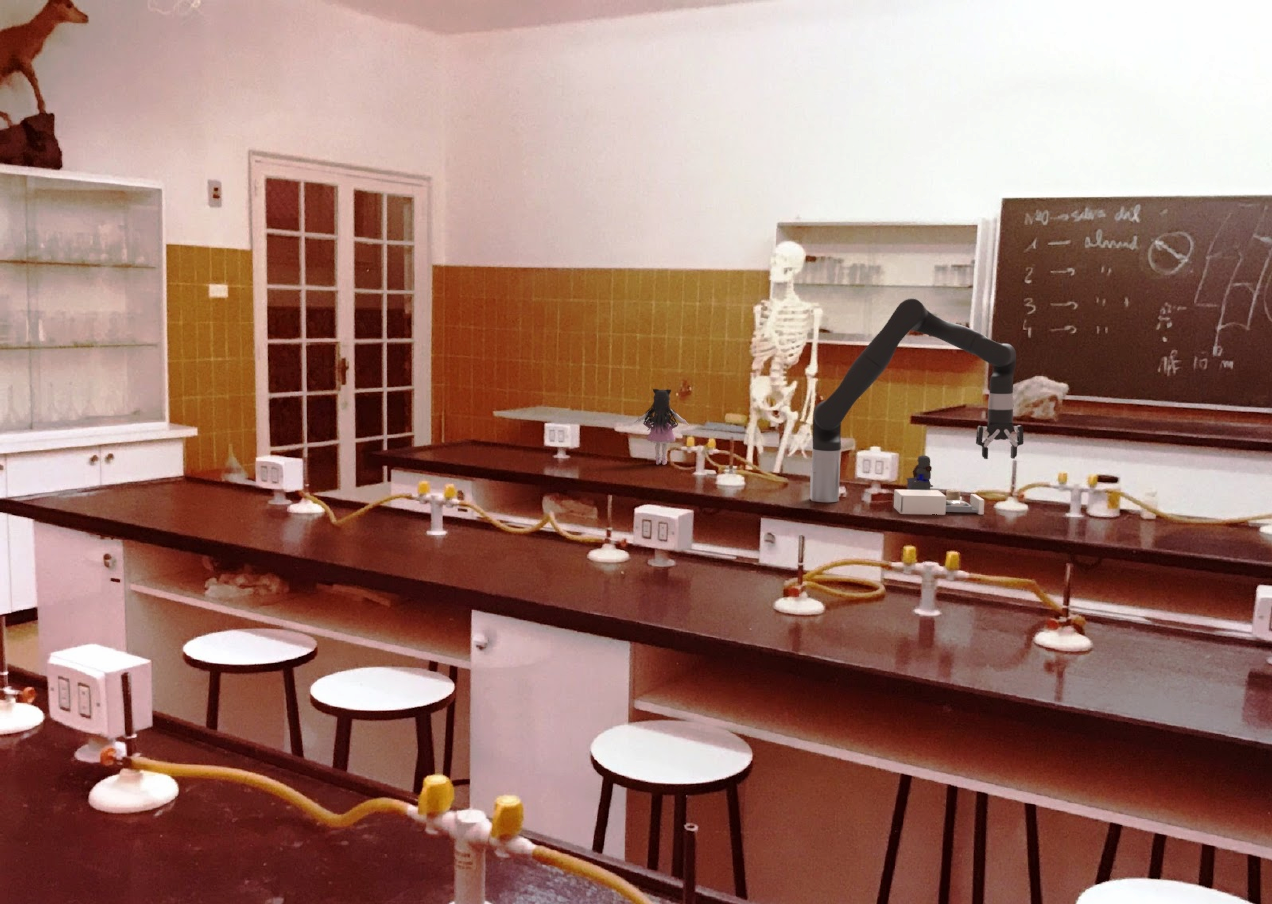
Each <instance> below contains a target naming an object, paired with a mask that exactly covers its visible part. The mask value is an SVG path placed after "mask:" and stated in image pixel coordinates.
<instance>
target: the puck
mask: <svg viewBox="0 0 1272 904" xmlns="http://www.w3.org/2000/svg"><path fill="white" fill-rule="evenodd" d="M964 501H965V500H960V501H959V500H946V506H965V504H966V502H967V501H965V502H964Z"/></svg>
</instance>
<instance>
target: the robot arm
mask: <svg viewBox="0 0 1272 904" xmlns="http://www.w3.org/2000/svg"><path fill="white" fill-rule="evenodd" d="M910 331H911V332H917V333H919V334H920V333H921V334H925V335H928V336H931V337H933V338H937V339H938V340H940V341H943V342H945V343H947V344H950V345H951V346H954V347H956V348H958V349H960V350H962V351H964V352H967V353H968V354H971V355H973V356H976V357H978V358H979V359H981V360H983V361H984V362H986V363H988V364H990V365H991V366H993V367H992V368H993V369H992V375H991V376H990V378H989V379H990V380H989V392H988V393H989V395H988V403H987V405H988V406H987V425H986V426H981V425H978V426H977V427H976V439H975V444H976V445H978V446H980V447H981V457H982V458H983V459H984V460H988V459H989V447H988V446H989V445H990V444H991V443H992V442H993V441H994V440H995V441H999V440H1004V441H1005V440H1007V441H1008V442H1009V443H1010V445H1011V446H1010V458H1011V459H1015V458H1017V456H1018V446H1021V445H1022V446H1023V444H1024V427H1023V426H1022V425H1020V424H1018V425H1014V374H1015V371H1016V370H1015V369H1016V362H1017V354H1016V353H1017V352H1016V350H1015V347H1014V346H1012V345H1011V344H1010V343H1000V342H996V341H994V340H993V339H990V338H988V337H987V336H986V335H985V334H983V333H981V332H980V331H977V330H974V329H972V328H970V327H967V326H964V325H961V324H959V323H954V322H951V321H947V320H945V319H943V318H941V317H939V316H937V315H935V314H934V313H933V312H931V311H929V310H928V309H927V308H926V306H925V305H924V303H923V302H921V301H920V300H919V299H917V298H913V297H912V298H906V299H905V300H904V299H903V301H902V302H900V303H899V304H898V305H897V307H896V308H895V310H894V311H893V313H892V315H891V316H890V317H889V319H888V320H887V322H886V323H885V325H884V326H883V328H882V329H881V330H880V331H879V332H878V333H877V334H876V335H875V337H873V339H872V340H871V341H870V343H869V344H868V345H867V346H866V347H865V349H863V350H862V352H860V354H859V355H858V357H857V358H855V360H854V362H853V363H852V364H851V366H850V367H849V368H848V370H847V372H846V374H845V375H844V377H843V379H842V381H841V382H840V383H839V386H838V387H837V388H836V389H835V390H834V391H833V393H832V394H830V396H828V398H827V399H825V400H822V401H820V402H818V403H817V405H816V406H815V407H814V409H813V415H812V416H813V418H812V453H811V457H812V458H811V470H810V478H809V479H810V481H809V483H810V484H809V500H811V502H817V503H836V502H839V498H840V478H841V477H840V474H841V453H842V451H841V450H842V449H841V448H842V441H841V440H842V439H841V437H842V436H841V435H842V433H841V432H842V422H843V420H844V419H845V417H846V415H847V414H848V412H849V411H850V409H851V408H853V406H854V405H855V403H856V401H858V399H859V398H860V397H861V396H862V395H864V393H865V392H866V391H867V390H868V389H870V387H871V386H872V385H873V384H874V383H875V381H876V380H877V379H878V378H879V377H880V376H881V375H882V373H883V372H884V371H885V369H886V368H887V367H888V365H889V364H890V362H891V360H892V358H893V356H894V354H895V351H896V350H897V349H898V346H899V344H900V343H901V341H903V339H904V338H905V337H906V336H907V334H908V333H910ZM1013 431H1014V432H1015V433H1016V440H1015V438H1014V437H1013V435H1012V434H1013ZM985 432H987V433H988V434H987V435H986V437H985V439H984V440H983V436H984V434H985Z"/></svg>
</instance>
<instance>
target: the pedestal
mask: <svg viewBox="0 0 1272 904" xmlns="http://www.w3.org/2000/svg"><path fill="white" fill-rule="evenodd" d="M945 492H946V493H945V494H946V495H945V496H946V500H959V501H961V490H956V489H947V490H946V491H945Z"/></svg>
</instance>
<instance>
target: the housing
mask: <svg viewBox="0 0 1272 904" xmlns="http://www.w3.org/2000/svg"><path fill="white" fill-rule="evenodd" d="M893 509H895V510H896V511H897V512H898V513H899V514H900V515H932V514H935V515H936V514H937V515H938V516H939V515H942V516H945V515H946V512H945V511H946V495H945V494H944V493H942V492H941V491H940V490H938V489H930V490H906V489H894V495H893Z"/></svg>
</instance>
